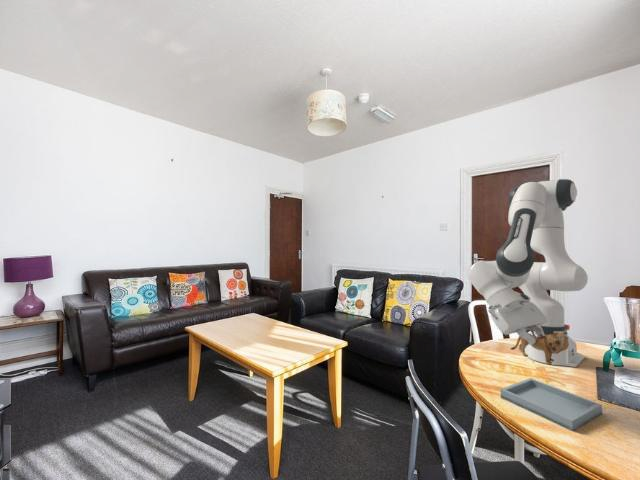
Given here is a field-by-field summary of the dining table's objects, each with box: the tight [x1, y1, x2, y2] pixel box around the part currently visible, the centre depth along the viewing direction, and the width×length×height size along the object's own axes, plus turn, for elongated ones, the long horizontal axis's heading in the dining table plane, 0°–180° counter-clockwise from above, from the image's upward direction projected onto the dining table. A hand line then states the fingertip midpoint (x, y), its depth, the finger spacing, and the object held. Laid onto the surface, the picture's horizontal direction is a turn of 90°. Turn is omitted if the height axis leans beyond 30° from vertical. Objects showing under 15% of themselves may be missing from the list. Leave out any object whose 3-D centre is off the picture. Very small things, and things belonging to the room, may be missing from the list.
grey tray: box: [500, 377, 603, 432], centre depth 84 cm, size 16×18×2 cm
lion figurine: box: [510, 332, 569, 365], centre depth 87 cm, size 15×5×9 cm, turn 36°
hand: (539, 342), depth 86 cm, fingers closed on lion figurine, 4 cm apart
